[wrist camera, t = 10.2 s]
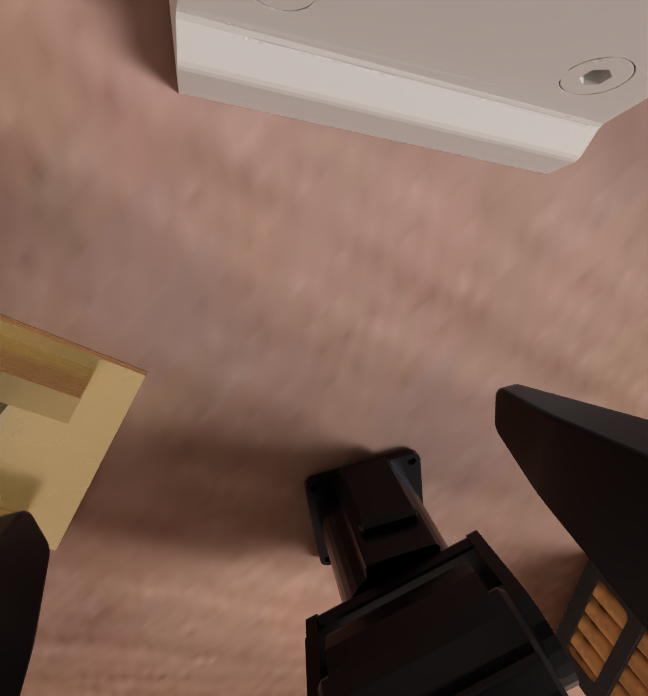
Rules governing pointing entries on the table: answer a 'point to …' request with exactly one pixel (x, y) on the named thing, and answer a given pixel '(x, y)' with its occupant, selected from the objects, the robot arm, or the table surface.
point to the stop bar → (4, 414)
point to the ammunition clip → (604, 639)
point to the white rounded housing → (425, 68)
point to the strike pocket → (56, 422)
